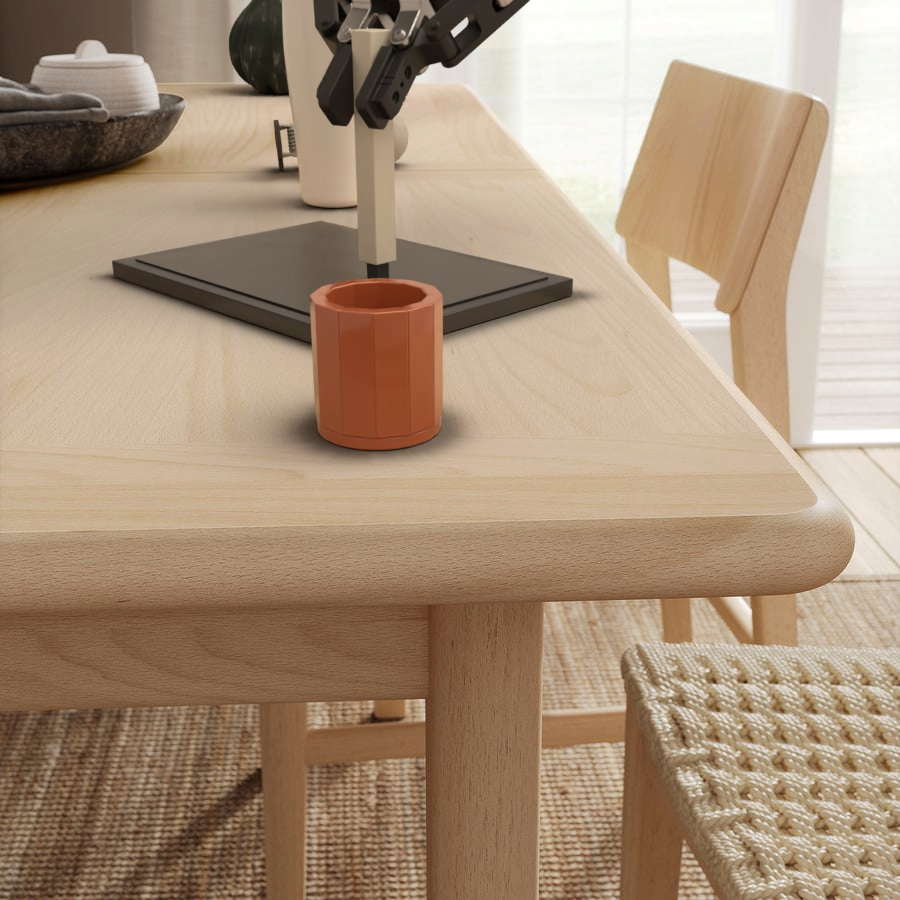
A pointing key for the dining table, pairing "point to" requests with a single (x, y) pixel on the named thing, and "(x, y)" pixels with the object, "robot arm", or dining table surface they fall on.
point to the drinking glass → (316, 114)
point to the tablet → (330, 276)
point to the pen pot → (377, 362)
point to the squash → (260, 46)
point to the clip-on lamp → (399, 142)
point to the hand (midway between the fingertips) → (350, 116)
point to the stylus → (373, 166)
